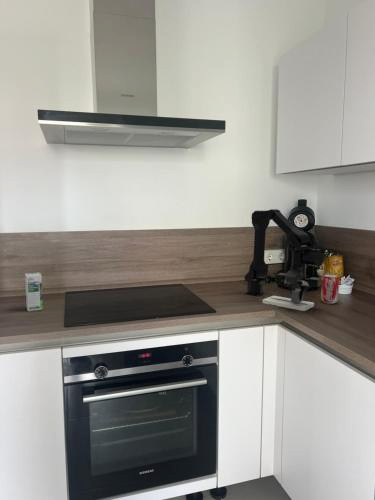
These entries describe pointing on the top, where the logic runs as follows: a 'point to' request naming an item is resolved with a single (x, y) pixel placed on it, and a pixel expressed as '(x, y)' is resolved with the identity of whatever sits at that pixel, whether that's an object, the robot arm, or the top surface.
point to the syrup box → (34, 291)
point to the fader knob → (296, 296)
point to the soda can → (330, 289)
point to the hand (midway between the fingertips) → (297, 299)
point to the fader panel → (288, 303)
